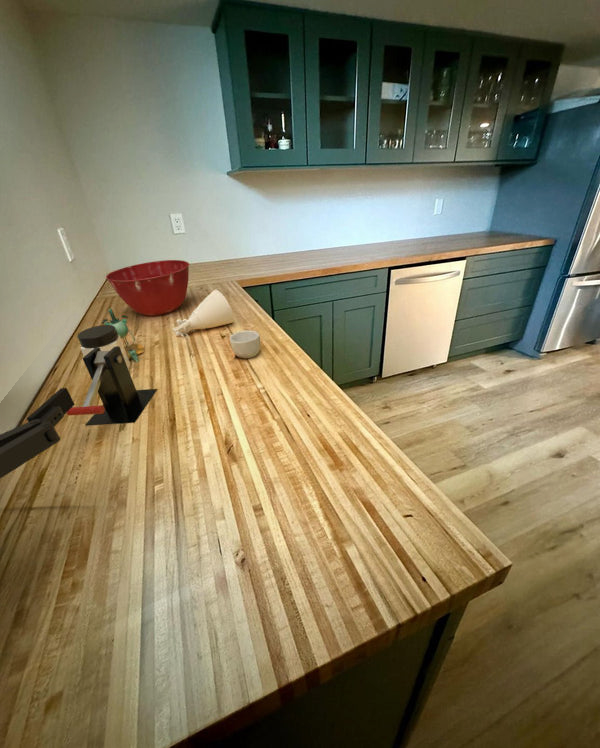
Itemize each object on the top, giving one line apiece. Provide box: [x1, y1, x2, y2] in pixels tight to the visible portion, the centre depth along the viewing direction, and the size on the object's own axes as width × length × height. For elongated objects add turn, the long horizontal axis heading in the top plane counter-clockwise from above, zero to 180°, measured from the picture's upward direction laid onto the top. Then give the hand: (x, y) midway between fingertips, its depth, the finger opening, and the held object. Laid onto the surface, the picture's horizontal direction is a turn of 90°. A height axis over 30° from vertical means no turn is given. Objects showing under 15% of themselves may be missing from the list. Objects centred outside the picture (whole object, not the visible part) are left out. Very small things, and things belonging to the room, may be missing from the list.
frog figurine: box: [102, 308, 145, 363], centre depth 92 cm, size 10×18×15 cm, turn 27°
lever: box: [66, 351, 109, 417], centre depth 62 cm, size 13×6×2 cm, turn 1°
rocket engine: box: [172, 289, 235, 338], centre depth 105 cm, size 12×12×18 cm
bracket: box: [82, 346, 158, 427], centre depth 68 cm, size 12×10×14 cm
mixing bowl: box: [105, 259, 190, 317], centre depth 125 cm, size 28×28×16 cm
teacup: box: [229, 329, 261, 359], centre depth 89 cm, size 10×8×5 cm
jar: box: [76, 324, 131, 370], centre depth 82 cm, size 9×8×12 cm
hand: (19, 399), depth 46 cm, fingers open, 13 cm apart
